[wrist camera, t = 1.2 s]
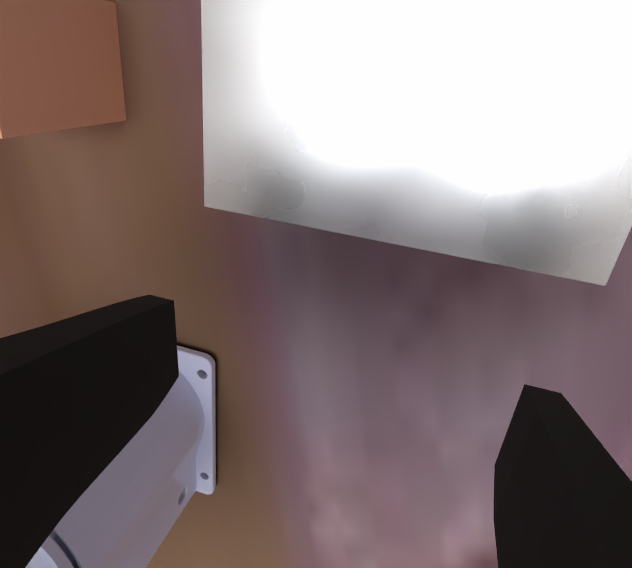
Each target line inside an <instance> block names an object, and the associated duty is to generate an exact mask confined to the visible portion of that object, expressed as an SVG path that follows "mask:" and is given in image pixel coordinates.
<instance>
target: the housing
mask: <svg viewBox="0 0 632 568" xmlns="http://www.w3.org/2000/svg"><path fill="white" fill-rule="evenodd" d="M201 18H202V81H203V144H204V206H205V207H210V208H215V209H220V210H225V211H230V212H235V213H240V214H245V215H250V216H255V217H260V218H265V219H270V220H275V221H280V222H285V223H290V224H296V225H301V226H306V227H311V228H316V229H321V230H326V231H331V232H336V233H341V234H346V235H351V236H356V237H361V238H366V239H371V240H376V241H381V242H386V243H391V244H396V245H402V246H407V247H412V248H417V249H422V250H427V251H432V252H437V253H442V254H447V255H452V256H457V257H462V258H467V259H472V260H477V261H482V262H487V263H492V264H497V265H502V266H507V267H513V268H518V269H523V270H528V271H533V272H538V273H543V274H548V275H553V276H558V277H563V278H568V279H573V280H578V281H583V282H588V283H593V284H598V285H603V286H606V283H607V281H608V279H609V277H610V274H611V272H612V270H613V268H614V265H615V263H616V261H617V258H618V256H619V254H620V252H621V249H622V247H623V245H624V242H625V240H626V238H627V236H628V233H629V231H630V229H631V227H632V0H201Z"/></svg>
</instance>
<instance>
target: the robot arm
mask: <svg viewBox="0 0 632 568" xmlns="http://www.w3.org/2000/svg"><path fill="white" fill-rule="evenodd" d="M202 370H203V371H205V372H206V373H207V374H206V373H204V372H203V371H202ZM215 488H216V423H215V361H214V360H213V358H212V357H211V356H210V355H208V354H206V353H203V352H199V351H196V350H192V349H188V348H185V347H181V346H178V345H177V340H176V325H175V311H174V301H173V300H169V299H165V298H161V297H156V296H152V295H146V296H142V297H137V298H133V299H129V300H126V301H122V302H119V303H115V304H112V305H109V306H106V307H102V308H99V309H96V310H93V311H90V312H86V313H83V314H80V315H77V316H74V317H70V318H67V319H64V320H61V321H58V322H55V323H51V324H48V325H45V326H42V327H38V328H35V329H31V330H28V331H24V332H21V333H17V334H14V335H10V336H7V337H3V338H0V568H146V567H147V565H148V564H149V562H150V560H151V559H152V557H153V556H154V554H155V553H156V551H157V550H158V548H159V547H160V545H161V543H162V542H163V540H164V539H165V537H166V536H167V534H168V533H169V531H170V529H171V528H172V526H173V525H174V523H175V522H176V520H177V519H178V517H179V516H180V514H181V512H182V511H183V509H184V508H185V506H186V505H187V503H188V502H189V500H190V499H191V497H192V495H193V494H194V492H195V491H198V492H201V493H204V494H207V495H208V494H212V493H213V491H214V490H215ZM494 527H495V537H496V547H497V558H498V567H499V568H632V481H631V480H630V479H629V478H628V476H627V475H626V474H625V473H624V472H623V470H622V469H621V468H620V467H619V465H618V464H617V463H616V462H615V460H614V459H613V458H612V457H611V456H610V454H609V453H608V452H607V451H606V449H605V448H604V447H603V445H602V444H601V443H600V442H599V440H598V439H597V438H596V437H595V435H594V434H593V433H592V431H591V430H590V429H589V428H588V426H587V425H586V424H585V423H584V421H583V420H582V419H581V417H580V416H579V415H578V414H577V412H576V411H575V410H574V409H573V407H572V406H571V405H570V404H569V402H568V401H567V400H566V399H565V397H564V396H563V395H562V394H561V393H558V392H554V391H550V390H546V389H541V388H537V387H533V386H529V385H525V384H524V387H523V390H522V392H521V395H520V398H519V401H518V403H517V406H516V409H515V411H514V414H513V417H512V420H511V422H510V425H509V428H508V430H507V433H506V436H505V439H504V441H503V444H502V447H501V449H500V452H499V455H498V458H497V460H496V463H495V476H494Z"/></svg>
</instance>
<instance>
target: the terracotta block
mask: <svg viewBox="0 0 632 568" xmlns="http://www.w3.org/2000/svg"><path fill="white" fill-rule="evenodd" d="M121 121H126V112H125V101H124V89H123V78H122V67H121V56H120V45H119V33H118V22H117V11H116V2H110V1H105V0H0V138H1V139H5V138H12V137H19V136H25V135H32V134H39V133H46V132H53V131H60V130H66V129H73V128H80V127H87V126H94V125H101V124H108V123H114V122H121Z"/></svg>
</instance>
